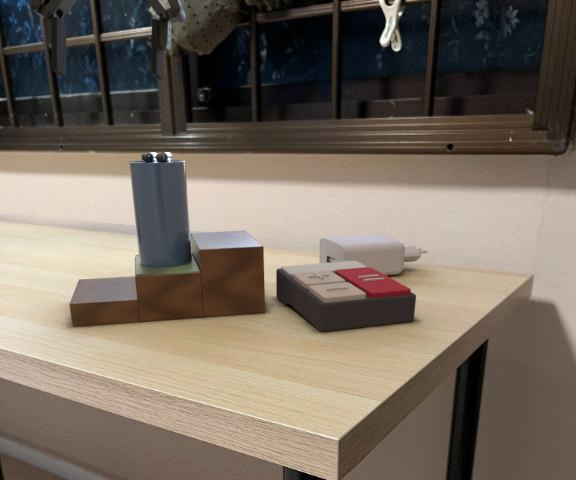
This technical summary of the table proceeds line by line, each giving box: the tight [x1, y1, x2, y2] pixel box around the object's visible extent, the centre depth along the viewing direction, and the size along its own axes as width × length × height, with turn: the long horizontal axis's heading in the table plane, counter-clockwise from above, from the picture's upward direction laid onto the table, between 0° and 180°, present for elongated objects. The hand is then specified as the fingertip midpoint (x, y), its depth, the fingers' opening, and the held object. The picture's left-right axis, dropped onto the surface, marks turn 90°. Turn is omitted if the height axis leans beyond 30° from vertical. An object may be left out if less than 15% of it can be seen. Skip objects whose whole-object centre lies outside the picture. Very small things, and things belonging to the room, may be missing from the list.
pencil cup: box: [128, 151, 192, 267], centre depth 68 cm, size 6×6×12 cm
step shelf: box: [68, 230, 266, 327], centre depth 71 cm, size 21×12×8 cm, turn 103°
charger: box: [319, 234, 429, 276], centre depth 89 cm, size 5×9×15 cm
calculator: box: [275, 261, 417, 333], centre depth 70 cm, size 11×4×15 cm
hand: (107, 75), depth 82 cm, fingers open, 13 cm apart
